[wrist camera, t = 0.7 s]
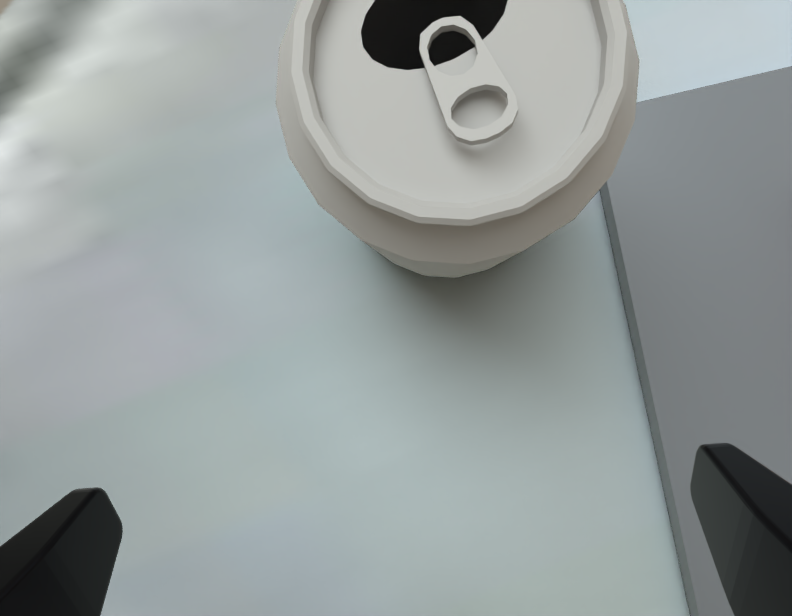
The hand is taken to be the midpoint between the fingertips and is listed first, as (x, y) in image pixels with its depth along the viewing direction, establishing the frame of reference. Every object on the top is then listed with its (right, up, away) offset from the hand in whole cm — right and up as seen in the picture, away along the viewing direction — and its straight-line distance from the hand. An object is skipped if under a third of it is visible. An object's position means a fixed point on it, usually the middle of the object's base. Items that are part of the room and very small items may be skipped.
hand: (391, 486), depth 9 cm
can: (+2, +8, +14) cm, 16 cm away
